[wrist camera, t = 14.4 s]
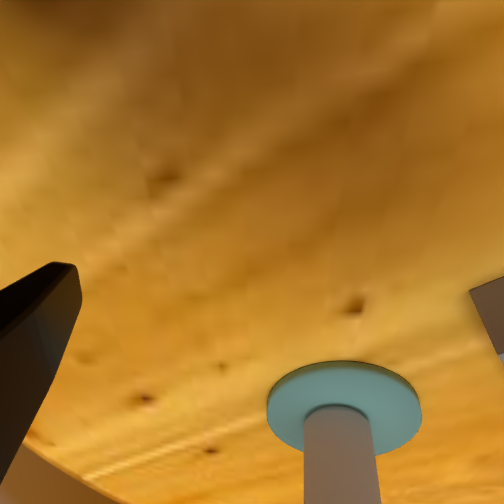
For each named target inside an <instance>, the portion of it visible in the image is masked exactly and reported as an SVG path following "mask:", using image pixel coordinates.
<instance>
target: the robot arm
mask: <svg viewBox="0 0 504 504" xmlns="http://www.w3.org/2000/svg"><path fill="white" fill-rule="evenodd" d="M81 305H82V292H81V286H80V280H79V275H78V270H77V268H76V266H75V265H73V264H70V263H63V262H50V263H48V264H46V265H44V266H43V267H41V268H39V269H37V270H36V271H34V272H32V273H30V274H28V275H27V276H25V277H23V278H21V279H19V280H18V281H16V282H14V283H12V284H11V285H9V286H7V287H5V288H3V289H2V290H0V485H1V483H2V481H3V479H4V476H5V475H6V473H7V471H8V469H9V467H10V465H11V463H12V461H13V459H14V457H15V455H16V453H17V451H18V449H19V447H20V445H21V443H22V442H23V440H24V438H25V436H26V434H27V432H28V430H29V428H30V426H31V424H32V422H33V420H34V418H35V416H36V414H37V412H38V410H39V408H40V406H41V404H42V402H43V400H44V398H45V397H46V395H47V393H48V391H49V388H50V386H51V384H52V382H53V380H54V378H55V375H56V373H57V370H58V368H59V365H60V362H61V360H62V357H63V354H64V352H65V349H66V346H67V344H68V341H69V338H70V336H71V333H72V330H73V328H74V325H75V322H76V320H77V317H78V314H79V311H80V309H81Z"/></svg>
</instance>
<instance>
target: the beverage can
mask: <svg viewBox="0 0 504 504" xmlns="http://www.w3.org/2000/svg"><path fill="white" fill-rule="evenodd" d="M304 504H381V497H380V490H379V482H378V475H377V467H376V460H375V453H374V445H373V438H372V430H371V426H370V424H369V422H368V420H367V419H366V418H364V417H363V416H362V415H361V414H360V413H359V412H357V411H356V410H354V409H351V408H348V407H343V406H328V407H323V408H320V409H318V410H316V411H314V412H313V413H312V414H311V415H310V416H309V417H308V418H307V419H306V421H305V423H304Z"/></svg>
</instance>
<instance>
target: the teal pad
mask: <svg viewBox="0 0 504 504" xmlns="http://www.w3.org/2000/svg"><path fill="white" fill-rule="evenodd" d="M328 406H343V407H348V408H351V409H354V410H356V411H357V412H359V413H360V414H361V415H362V416H363V417H364V418H366V419H367V420H368V422H369V424H370V426H371V430H372V438H373V445H374V453H375V456H376V455H380V454H383V453H387V452H389V451H392V450H394V449H396V448H398V447H400V446H402V445H404V444H405V443H407V442H408V441H409V440H410V439H411V438H413V437H414V435H415V434H416V433H417V432H418V430H419V428H420V426H421V422H422V412H421V408H420V404H419V399H418V396H417V394H416V392H415V390H414V389H413V387H412V386H411V385H410V384H409V383H408V382H407V381H406V380H405V379H403V378H402V377H401V376H399V375H398V374H396V373H394V372H392V371H390V370H387V369H385V368H382V367H379V366H376V365H372V364H367V363H362V362H353V361H331V362H323V363H317V364H313V365H308V366H305V367H303V368H300V369H297V370H295V371H293V372H291V373H289V374H288V375H286V376H284V377H283V378H282V379H281V380H279V381H278V382H277V383H276V384H275V386H274V387H273V388H272V390H271V392H270V394H269V397H268V405H267V421H268V424H269V426H270V428H271V430H272V431H273V432H274V434H275V435H276V436H277V437H278V438H279V439H281V440H282V441H283V442H285V443H286V444H288V445H290V446H291V447H293V448H295V449H298V450H300V451H303V452H304V423H305V421H306V419H307V418H308V417H309V416H310V415H311V414H312V413H313V412H314V411H316V410H318V409H320V408H323V407H328Z"/></svg>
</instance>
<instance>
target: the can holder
mask: <svg viewBox="0 0 504 504" xmlns="http://www.w3.org/2000/svg"><path fill="white" fill-rule="evenodd" d="M469 292H470V295H471V297H472V299H473V301H474V303H475V306H476V308H477V310H478V312H479V315H480V317H481V319H482V321H483V324H484V326H485V328H486V330H487V332H488V335H489V337H490V339H491V341H492V344H493V346H494V348H495V350H496V352H497V355H498V356H499V358H500V359H501V361H502V362H503V364H504V277H502V278H500V279H497V280H495V281H492V282H490V283H487V284H485V285H482V286H480V287H477V288H475V289H472V290H470V291H469Z"/></svg>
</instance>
